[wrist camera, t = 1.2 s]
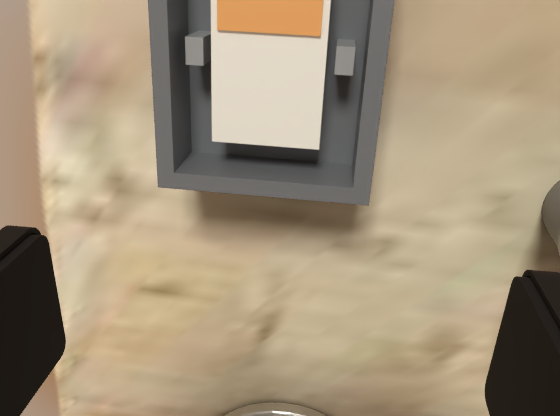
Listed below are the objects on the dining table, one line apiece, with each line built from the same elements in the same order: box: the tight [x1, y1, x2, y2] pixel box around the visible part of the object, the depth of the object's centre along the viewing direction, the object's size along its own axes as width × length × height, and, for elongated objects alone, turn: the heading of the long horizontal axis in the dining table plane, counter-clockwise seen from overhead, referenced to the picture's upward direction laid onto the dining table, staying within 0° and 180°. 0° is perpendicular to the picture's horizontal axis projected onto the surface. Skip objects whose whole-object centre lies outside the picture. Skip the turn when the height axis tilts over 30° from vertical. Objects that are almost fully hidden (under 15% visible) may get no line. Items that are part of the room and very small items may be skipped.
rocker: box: [211, 0, 331, 150], centre depth 24 cm, size 8×5×1 cm, turn 177°
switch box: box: [148, 0, 394, 205], centre depth 25 cm, size 13×10×6 cm
